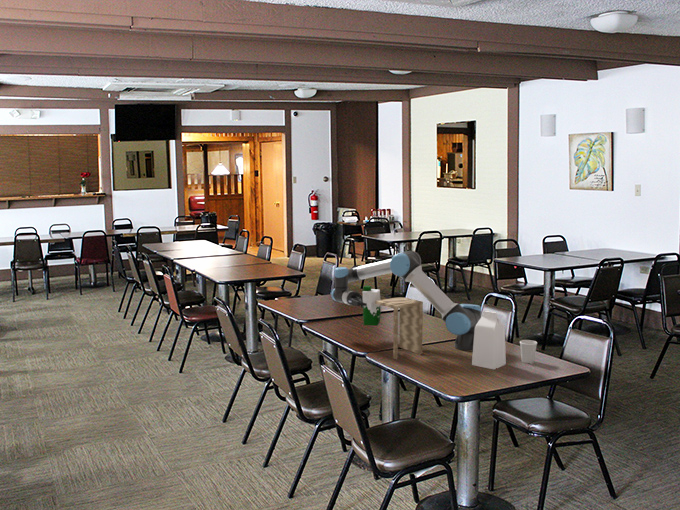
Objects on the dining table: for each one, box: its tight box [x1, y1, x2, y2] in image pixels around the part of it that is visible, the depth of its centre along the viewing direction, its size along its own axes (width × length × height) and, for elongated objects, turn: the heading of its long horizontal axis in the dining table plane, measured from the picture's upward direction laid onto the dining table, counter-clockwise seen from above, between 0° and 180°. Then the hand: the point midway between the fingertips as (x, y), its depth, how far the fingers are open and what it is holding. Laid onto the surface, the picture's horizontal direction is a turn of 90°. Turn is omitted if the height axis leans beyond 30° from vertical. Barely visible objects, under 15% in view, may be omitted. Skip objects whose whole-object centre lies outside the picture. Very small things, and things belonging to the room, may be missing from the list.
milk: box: [471, 310, 507, 370], centre depth 336 cm, size 12×12×26 cm
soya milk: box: [362, 285, 381, 327], centre depth 366 cm, size 9×9×20 cm
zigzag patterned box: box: [375, 296, 424, 360], centre depth 357 cm, size 16×18×27 cm
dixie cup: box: [519, 339, 538, 364], centre depth 342 cm, size 8×8×10 cm
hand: (378, 304), depth 363 cm, fingers closed on soya milk, 8 cm apart
